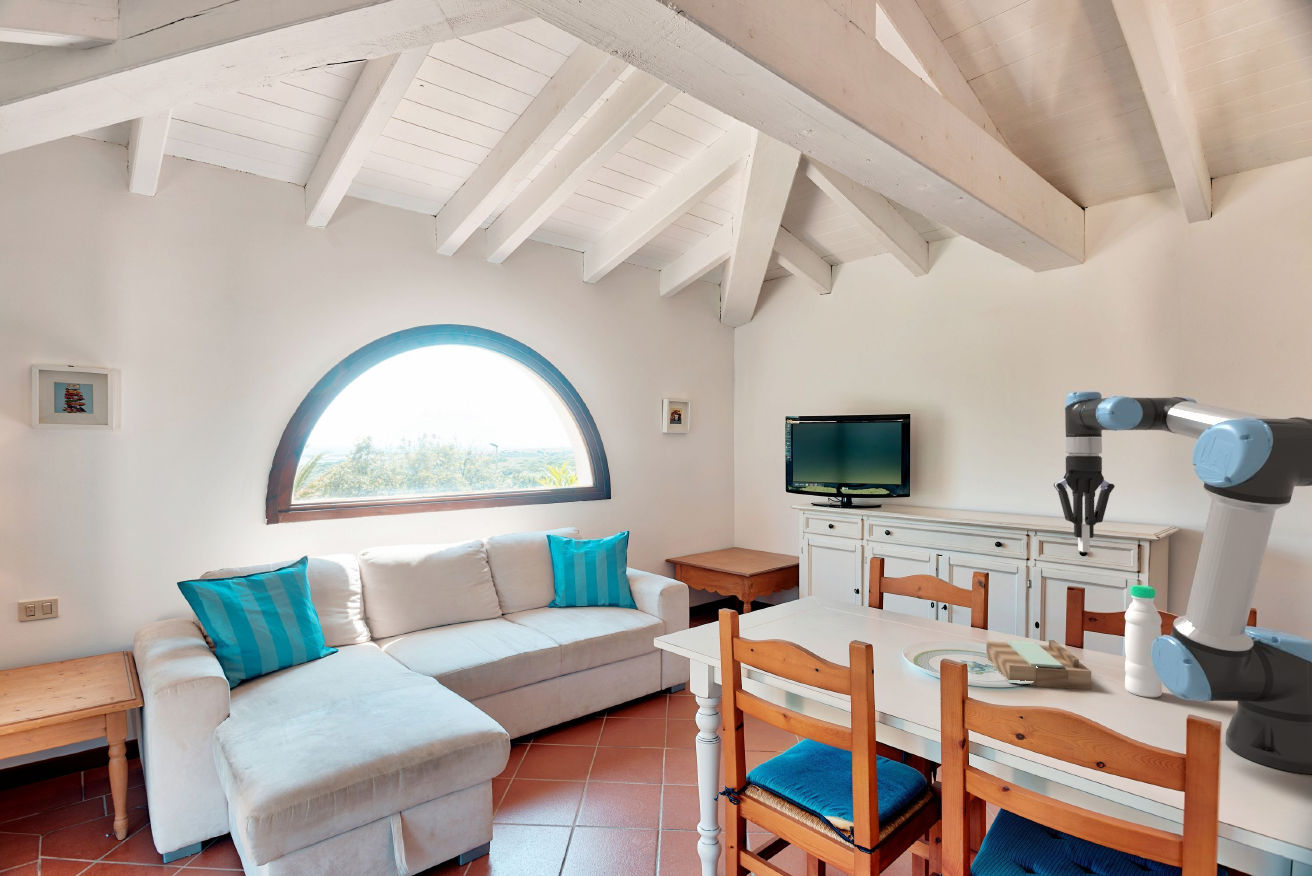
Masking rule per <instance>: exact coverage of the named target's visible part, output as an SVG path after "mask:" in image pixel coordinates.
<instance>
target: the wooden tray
mask: <svg viewBox="0 0 1312 876" xmlns="http://www.w3.org/2000/svg"><path fill="white" fill-rule="evenodd" d="M985 642H986V645H985V646H986V654H985V656H986V659H987V658H988V659H987V660H988V661H989V660H990V661H991V662H992V663H993V664H994V665H995V667H996V668H997V669H998V670H999V671H1000V672H1001V673H1000V672H999V671H998V670H997V669H996V668H995V667H994V668H995V669H996V670H997V671H998V672H999V673H1000V674H1001V675H1002V674H1003V676H1004V677H1006V678H1007V679H1008V680H1020V681H1025V680H1026V681H1034V682H1033V683H1032V684H1030V685H1029V686H1036V687H1043V688H1044V687H1045V688H1056V689H1057V688H1060V689H1083V690H1092V670H1091V669H1090V668H1088V667H1087V666H1085V665H1084V664H1083V663H1082V662H1080V659H1079V658H1077V657H1076V656H1075V655H1074V654H1072V653H1071V652H1070V651H1069V650H1067V649H1066V648H1064V646H1062V645H1060V644H1059V643H1058V642H1057V641H1056V640H1054V639H1049V640H1048V645H1047V644H1038V645H1039V646H1040V647H1041V648H1043V649H1044V650H1045V651H1046V652H1047V653H1049V654H1050V655H1051V656H1052V657H1053V658H1055V659H1056V660H1057V661H1058V662H1059V663H1060V664H1062V665H1063V666H1064V667H1065V669H1061V668H1057V669H1049V668H1036V666H1031V665H1030V664H1029V663H1028V662H1026V661H1025V660H1024V659H1023V658H1022V657H1021V656H1020V655H1019V654H1018V653H1017V652H1016V651H1015V650H1014V649H1013V648H1012V647H1011V646H1010V645H1009V644H1008V643H1007V641H993V640H986V641H985ZM990 661H989V662H990ZM991 662H990V663H991ZM992 663H991V664H992ZM993 664H992V665H993ZM994 665H993V666H994ZM1003 676H1002V677H1003ZM1004 677H1003V678H1004Z"/></svg>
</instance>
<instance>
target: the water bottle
mask: <svg viewBox="0 0 1312 876" xmlns="http://www.w3.org/2000/svg"><path fill="white" fill-rule="evenodd" d="M1130 595H1131V596H1130V597H1131V598H1132V602H1131V603H1130V604H1129V606H1128V608H1127V610H1126V611H1125V614H1124V620H1125V629H1124V651H1125V653H1124V655H1125V663H1124V671H1125V678H1124V688H1125V690H1126V691H1127V692H1128V693H1131V694H1132V695H1136V696H1140V697H1143V698H1154V699H1155V698H1158V697H1160V696H1161V695H1162V694H1163V686H1162V685H1163V683H1162V682H1161V680H1160V679H1159V677H1158V675H1157V672H1156V671H1155V669H1154V666H1153V662H1152V657H1151V648H1152V644H1153V642H1154V640H1155V639H1156V638H1159V637H1160V636H1162V628H1161V627H1162V626H1161V625H1162V624H1163V621H1162V617H1161V615H1160V613H1159V612H1158V609H1157V607H1156V605H1155V604H1154V600H1155V599H1156V589H1155V588H1154V587H1151V586H1147V585H1131V587H1130Z"/></svg>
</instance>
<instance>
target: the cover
mask: <svg viewBox="0 0 1312 876" xmlns="http://www.w3.org/2000/svg"><path fill="white" fill-rule="evenodd" d="M1006 642H1007V643H1008V644H1009V645H1010V646H1011V647H1012V648H1013V649H1014V650H1015V651H1016V652H1017V653H1018V654H1019V655H1020V656H1021V657H1022V658H1023V659H1024V660H1025V661H1026V662H1028V663H1029V664H1030V665H1031V666H1041V667H1056V668H1061V669H1065V667H1064V666H1063V665H1062V664H1060V663H1059V662H1058V661H1057V660H1056V659H1055V658H1053V657H1052V656H1051V655H1050V654H1049V653H1047V652H1046V651H1045V650H1044V649H1043V648H1041V647H1040V646H1039V645H1040V644H1038V643H1037V642H1035V641H1022V640H1020V641H1019V640H1006Z"/></svg>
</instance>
